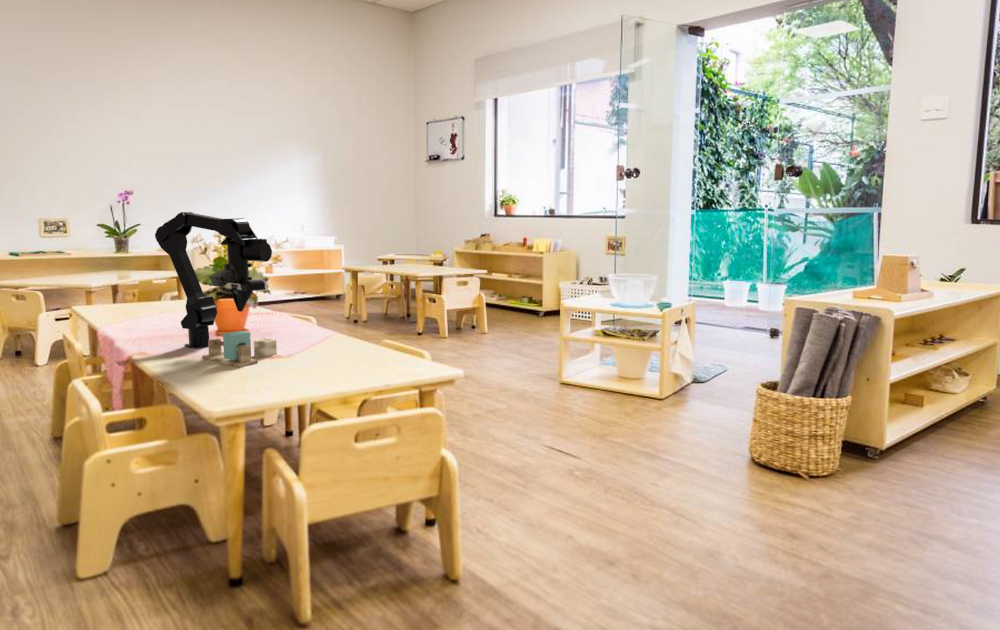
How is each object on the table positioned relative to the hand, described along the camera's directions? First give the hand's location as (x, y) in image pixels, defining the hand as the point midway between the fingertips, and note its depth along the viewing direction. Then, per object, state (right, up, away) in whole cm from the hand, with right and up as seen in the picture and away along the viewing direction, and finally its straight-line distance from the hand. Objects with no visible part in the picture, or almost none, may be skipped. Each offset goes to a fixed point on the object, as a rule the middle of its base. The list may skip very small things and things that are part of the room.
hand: (240, 311), depth 213 cm
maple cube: (+9, -13, -4) cm, 17 cm away
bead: (+5, -13, -15) cm, 20 cm away
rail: (+2, -14, -12) cm, 19 cm away
